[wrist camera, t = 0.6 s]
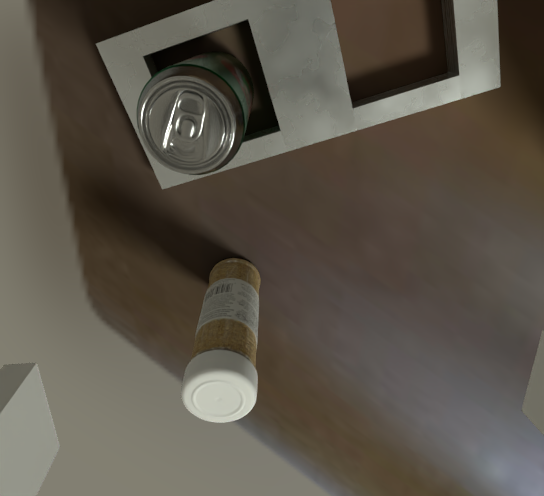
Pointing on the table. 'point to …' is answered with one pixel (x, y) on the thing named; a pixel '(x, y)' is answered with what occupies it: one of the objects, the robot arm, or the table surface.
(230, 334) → the sprinkles bottle
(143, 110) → the soda can
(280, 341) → the table surface
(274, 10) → the white flat rectangular frame
